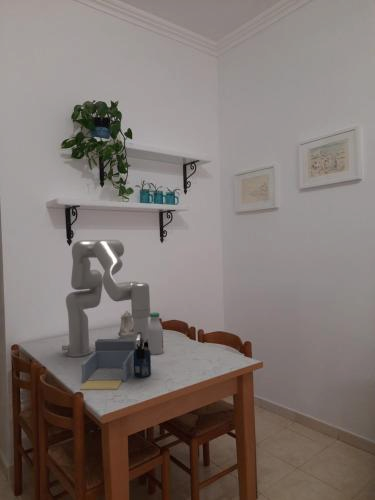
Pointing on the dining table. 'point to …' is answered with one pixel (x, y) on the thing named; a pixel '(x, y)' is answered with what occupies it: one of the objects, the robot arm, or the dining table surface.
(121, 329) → the chinaware
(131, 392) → the dining table surface
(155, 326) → the milk bottle
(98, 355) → the truck bed
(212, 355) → the dining table surface
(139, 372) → the soda can
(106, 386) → the panel
